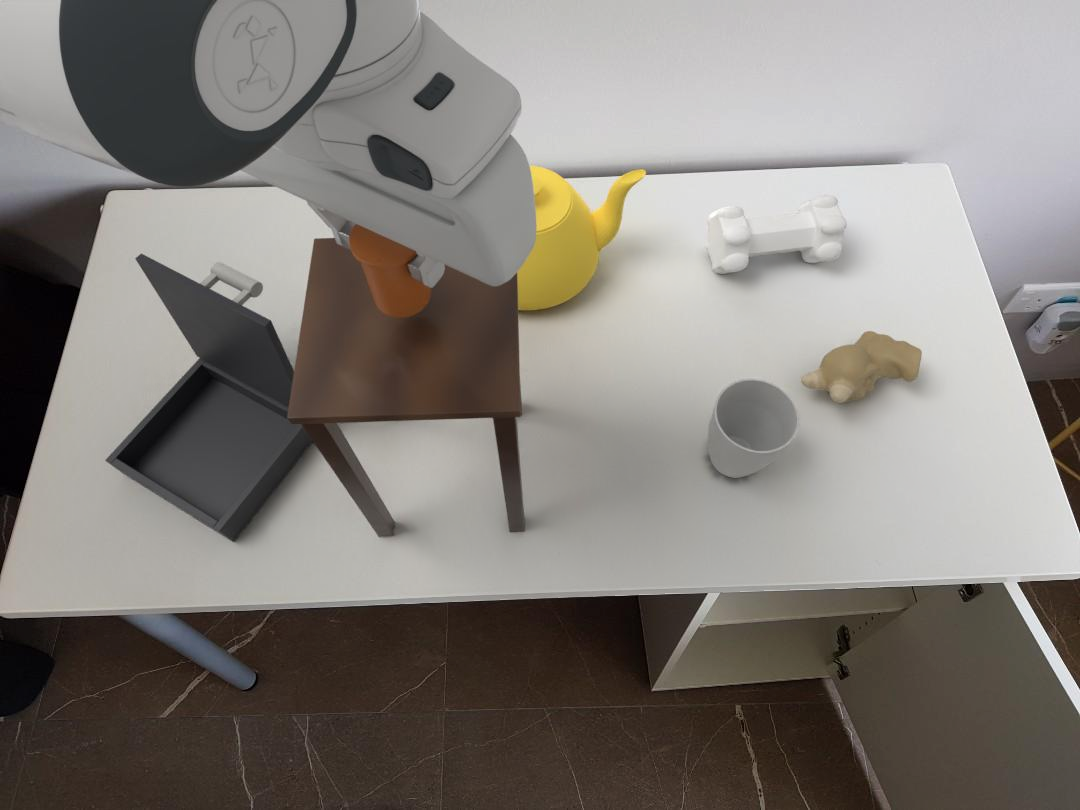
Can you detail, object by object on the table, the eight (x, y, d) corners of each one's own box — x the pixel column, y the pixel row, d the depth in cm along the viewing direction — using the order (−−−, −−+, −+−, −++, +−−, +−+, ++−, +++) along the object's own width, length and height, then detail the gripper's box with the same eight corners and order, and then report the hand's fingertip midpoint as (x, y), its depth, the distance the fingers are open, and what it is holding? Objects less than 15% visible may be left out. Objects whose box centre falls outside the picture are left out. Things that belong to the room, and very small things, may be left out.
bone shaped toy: (810, 224, 92) (833, 178, 85) (832, 276, 88) (857, 232, 81) (699, 237, 92) (712, 191, 84) (716, 290, 88) (731, 247, 80)
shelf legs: (378, 536, 73) (297, 419, 49) (388, 407, 80) (321, 250, 56) (524, 531, 73) (515, 412, 49) (521, 403, 80) (511, 244, 56)
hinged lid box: (234, 542, 73) (219, 531, 69) (123, 474, 77) (104, 460, 73) (321, 431, 79) (311, 416, 75) (215, 373, 82) (201, 356, 79)
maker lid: (265, 326, 62) (300, 290, 64) (134, 258, 65) (172, 227, 68) (307, 417, 75) (336, 385, 77) (196, 356, 78) (227, 327, 81)
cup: (775, 491, 75) (805, 453, 66) (698, 490, 75) (719, 452, 66) (764, 423, 79) (792, 378, 70) (692, 422, 79) (710, 378, 70)
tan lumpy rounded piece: (936, 356, 76) (861, 380, 71) (906, 407, 80) (834, 433, 75) (876, 317, 81) (802, 336, 76) (851, 366, 86) (780, 387, 80)
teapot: (620, 201, 95) (631, 116, 83) (647, 307, 86) (663, 231, 74) (434, 220, 93) (418, 137, 81) (443, 330, 85) (427, 256, 73)
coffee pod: (411, 331, 48) (394, 276, 43) (356, 304, 49) (334, 247, 44) (447, 284, 50) (436, 225, 45) (394, 259, 51) (377, 199, 46)
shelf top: (291, 424, 49) (286, 418, 48) (317, 246, 56) (313, 238, 56) (520, 417, 49) (520, 410, 48) (516, 240, 57) (516, 231, 56)
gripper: (130, 41, 35) (237, 232, 47) (480, 189, 30) (498, 359, 42) (216, -25, 38) (297, 172, 50) (551, 102, 33) (549, 286, 45)
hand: (391, 259), depth 46 cm, fingers closed on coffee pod, 4 cm apart
